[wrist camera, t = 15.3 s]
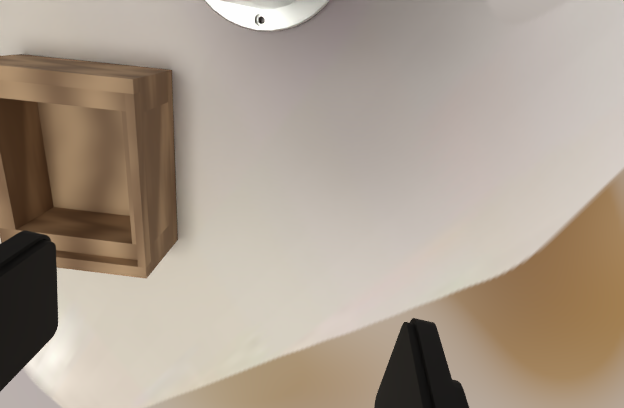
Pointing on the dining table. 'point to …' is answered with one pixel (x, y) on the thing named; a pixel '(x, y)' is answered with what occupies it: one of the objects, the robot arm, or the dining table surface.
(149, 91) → the walnut box
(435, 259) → the dining table surface
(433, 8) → the dining table surface
